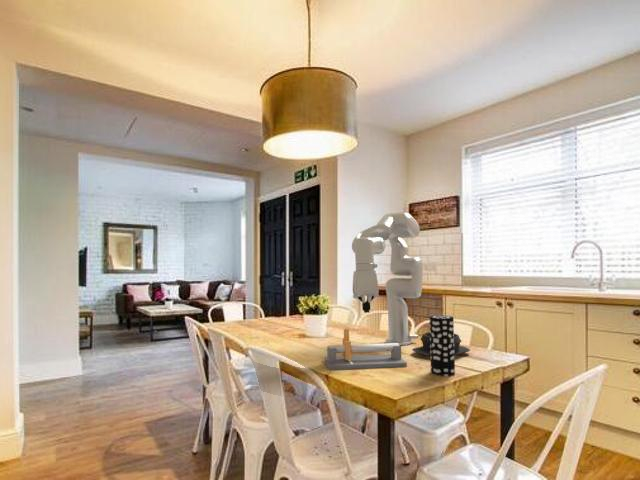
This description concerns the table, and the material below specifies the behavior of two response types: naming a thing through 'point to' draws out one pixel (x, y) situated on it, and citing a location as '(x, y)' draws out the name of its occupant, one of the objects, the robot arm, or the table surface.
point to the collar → (347, 345)
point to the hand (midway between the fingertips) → (366, 312)
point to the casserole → (426, 345)
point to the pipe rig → (365, 357)
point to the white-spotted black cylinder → (442, 345)
